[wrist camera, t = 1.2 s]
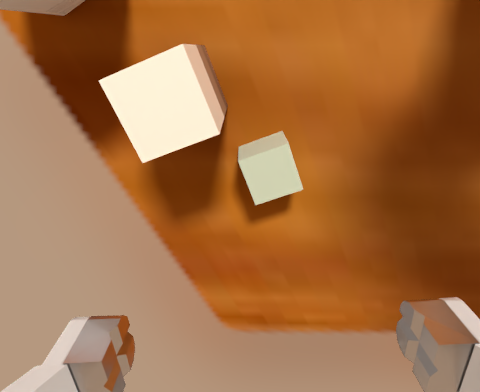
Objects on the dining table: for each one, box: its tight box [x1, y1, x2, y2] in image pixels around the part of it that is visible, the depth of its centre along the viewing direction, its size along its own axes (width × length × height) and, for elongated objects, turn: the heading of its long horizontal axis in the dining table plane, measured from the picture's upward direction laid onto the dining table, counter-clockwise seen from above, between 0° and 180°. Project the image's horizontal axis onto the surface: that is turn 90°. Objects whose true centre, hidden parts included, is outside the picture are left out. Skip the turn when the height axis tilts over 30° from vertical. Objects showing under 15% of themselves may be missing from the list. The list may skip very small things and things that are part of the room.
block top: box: [98, 44, 224, 163], centre depth 24 cm, size 6×6×6 cm
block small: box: [238, 131, 303, 205], centre depth 33 cm, size 5×5×5 cm
